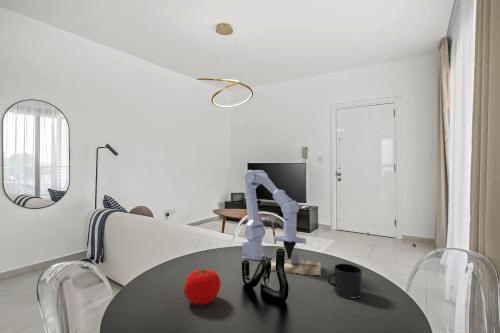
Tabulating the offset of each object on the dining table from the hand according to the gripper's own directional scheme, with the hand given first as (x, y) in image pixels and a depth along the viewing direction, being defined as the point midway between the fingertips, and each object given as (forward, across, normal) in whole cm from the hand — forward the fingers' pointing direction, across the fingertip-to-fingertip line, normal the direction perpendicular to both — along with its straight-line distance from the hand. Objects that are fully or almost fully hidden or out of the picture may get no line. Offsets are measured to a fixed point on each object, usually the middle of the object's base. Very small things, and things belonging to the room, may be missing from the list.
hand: (289, 258), depth 119 cm
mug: (+5, +22, -18) cm, 28 cm away
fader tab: (+2, +3, 0) cm, 3 cm away
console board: (+5, +3, 0) cm, 5 cm away
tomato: (+5, -25, -38) cm, 46 cm away
